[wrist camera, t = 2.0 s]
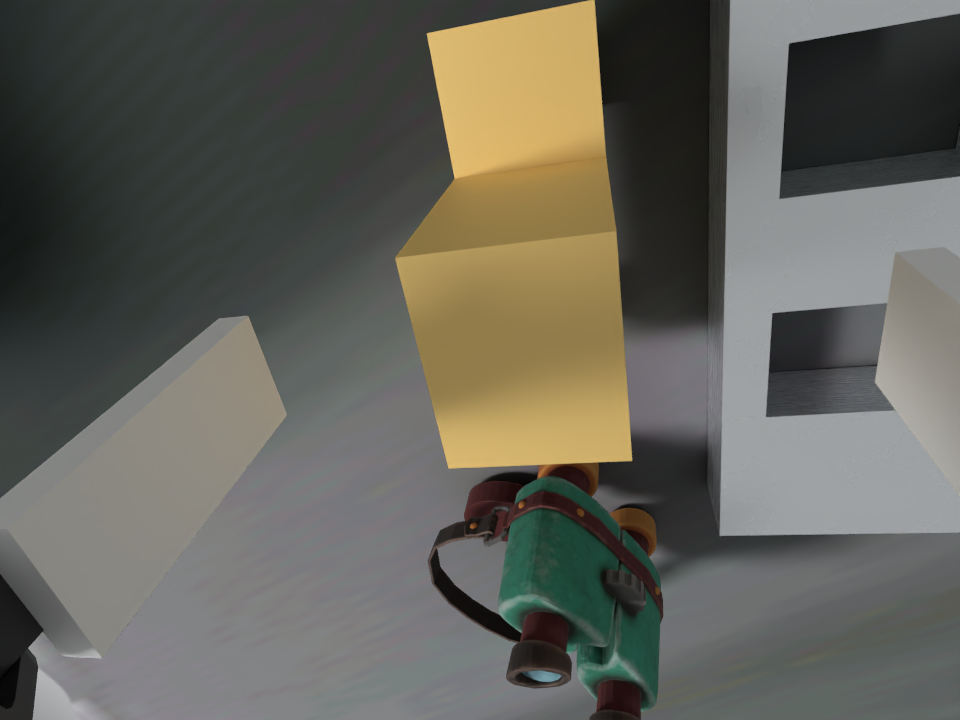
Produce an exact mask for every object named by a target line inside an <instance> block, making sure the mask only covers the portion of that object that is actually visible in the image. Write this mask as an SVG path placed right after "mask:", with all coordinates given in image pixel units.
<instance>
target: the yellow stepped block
mask: <svg viewBox="0 0 960 720" xmlns="http://www.w3.org/2000/svg"><path fill="white" fill-rule="evenodd" d="M427 37H428V42H429V47H430V53H431V58H432V63H433V68H434V73H435V79H436V84H437V89H438V94H439V99H440V105H441V110H442V115H443V120H444V125H445V131H446V136H447V141H448V146H449V151H450V157H451V162H452V167H453V172H454V177H455V179H454V181H453V182H452V183H451V185H450V186H449V187H448V188H447V190H446V191H445V192H444V194H443V195H442V196H441V198H440V199H439V200H438V202H437V203H436V204H435V206H434V207H433V208H432V210H431V211H430V212H429V214H428V215H427V216H426V218H425V219H424V220H423V222H422V223H421V224H420V226H419V227H418V228H417V230H416V231H415V232H414V234H413V235H412V236H411V238H410V239H409V240H408V242H407V243H406V244H405V245H404V247H403V248H402V249H401V251H400V252H399V253H398V255H397V256H396V257H395V259H396V263H397V267H398V271H399V275H400V279H401V283H402V287H403V291H404V295H405V299H406V303H407V307H408V310H409V314H410V318H411V322H412V326H413V330H414V334H415V338H416V342H417V346H418V350H419V354H420V358H421V362H422V365H423V369H424V373H425V377H426V381H427V385H428V389H429V393H430V397H431V401H432V405H433V409H434V413H435V416H436V420H437V424H438V428H439V432H440V436H441V440H442V444H443V448H444V452H445V456H446V460H447V464H448V468H473V467H497V466H522V465H546V464H570V463H595V462H619V461H632V449H631V435H630V421H629V406H628V392H627V377H626V363H625V348H624V334H623V319H622V305H621V290H620V276H619V262H618V247H617V233H616V225H615V218H614V210H613V203H612V196H611V189H610V182H609V175H608V167H607V160H606V150H605V136H604V122H603V109H602V95H601V81H600V68H599V54H598V41H597V27H596V13H595V0H589V1H584V2H579V3H574V4H569V5H565V6H560V7H555V8H550V9H545V10H540V11H535V12H530V13H525V14H520V15H515V16H510V17H505V18H500V19H496V20H491V21H486V22H481V23H476V24H471V25H466V26H461V27H456V28H451V29H446V30H441V31H436V32H431V33H427Z"/></svg>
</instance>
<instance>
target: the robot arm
mask: <svg viewBox="0 0 960 720" xmlns="http://www.w3.org/2000/svg"><path fill="white" fill-rule="evenodd" d="M875 383H876V385H877V386H878V387H879V389H880V390H881V391H882V393H883V394H884V395H885V397H886V398H887V399H888V401H889V402H890V403H891V405H892V406H893V407H894V409H895V410H896V411H897V413H898V414H899V415H900V417H901V418H902V419H903V421H904V422H905V423H906V425H907V426H908V427H909V429H910V430H911V431H912V433H913V434H914V435H915V437H916V438H917V439H918V441H919V442H920V443H921V445H922V446H923V448H924V449H925V450H926V452H927V453H928V454H929V456H930V457H931V458H932V460H933V461H934V462H935V464H936V465H937V466H938V468H939V469H940V470H941V472H942V473H943V474H944V476H945V477H946V478H947V480H948V481H949V482H950V484H951V485H952V486H953V488H954V489H955V490H956V492H957V493H958V494H959V496H960V257H958V256H957V255H955V254H954V253H952V252H951V251H949V250H948V249H946V248H945V247H940V248H930V249H920V250H909V251H899V252H895V258H894V264H893V271H892V277H891V283H890V290H889V296H888V302H887V309H886V315H885V321H884V328H883V334H882V340H881V347H880V353H879V359H878V366H877V372H876V378H875ZM286 416H287V414H286V411H285V409H284V406H283V404H282V401H281V398H280V396H279V393H278V391H277V388H276V386H275V383H274V381H273V378H272V375H271V373H270V370H269V368H268V365H267V363H266V360H265V358H264V355H263V353H262V350H261V347H260V345H259V342H258V340H257V337H256V335H255V332H254V330H253V327H252V324H251V322H250V319H249V317H248V316H241V317H230V318H220V319H218V320H217V321H215V322H214V323H213V324H212V325H210V326H209V327H208V328H207V329H206V330H204V331H203V332H202V333H201V334H200V335H198V336H197V337H196V338H195V339H193V340H192V341H191V342H190V343H189V344H187V345H186V346H185V347H184V348H183V349H181V350H180V351H179V352H178V353H176V354H175V355H174V356H173V357H172V358H170V359H169V360H168V361H167V362H166V363H164V364H163V365H162V366H161V367H159V368H158V369H157V370H156V371H155V372H153V373H152V374H151V375H150V376H149V377H147V378H146V379H145V380H144V381H142V382H141V383H140V384H139V385H138V386H136V387H135V388H134V389H133V390H132V391H130V392H129V393H128V394H127V395H125V396H124V397H123V398H122V399H121V400H119V401H118V402H117V403H116V404H114V405H113V406H112V407H111V408H110V409H108V410H107V411H106V412H105V413H104V414H102V415H101V416H100V417H99V418H97V419H96V420H95V421H94V422H93V423H91V424H90V425H89V426H88V427H87V428H85V429H84V430H83V431H82V432H80V433H79V434H78V435H77V436H76V437H74V438H73V439H72V440H71V441H70V442H68V443H67V444H66V445H65V446H63V447H62V448H61V449H60V450H59V451H57V452H56V453H55V454H54V455H53V456H51V457H50V458H49V459H48V460H46V461H45V462H44V463H43V464H42V465H40V466H39V467H38V468H37V469H36V470H34V471H33V472H32V473H31V474H29V475H28V476H27V477H26V478H25V479H23V480H22V481H21V482H20V483H18V484H17V485H16V486H15V487H14V488H12V489H11V490H10V491H9V492H8V493H6V494H5V495H4V496H3V497H1V498H0V720H32V718H33V709H34V700H35V690H36V681H37V672H38V665H37V661H36V658H35V656H34V655H33V654H32V653H31V651H30V650H29V649H28V647H29V646H30V645H31V644H32V643H33V642H34V641H35V639H36V638H37V637H38V636H39V635H40V634H41V633H42V632H44V634H45V635H46V636H47V637H48V639H49V640H50V641H51V642H52V644H53V645H54V646H55V648H56V649H57V650H58V651H59V653H60V654H61V655H62V656H65V657H86V658H103V657H104V655H105V654H106V653H107V651H108V650H109V649H110V647H111V646H112V645H113V643H114V642H115V641H116V640H117V638H118V637H119V636H120V634H121V633H122V632H123V630H124V629H125V628H126V626H127V625H128V624H129V622H130V621H131V620H132V618H133V617H134V616H135V615H136V613H137V612H138V611H139V609H140V608H141V607H142V605H143V604H144V603H145V601H146V600H147V599H148V597H149V596H150V595H151V593H152V592H153V591H154V590H155V588H156V587H157V586H158V584H159V583H160V582H161V580H162V579H163V578H164V576H165V575H166V574H167V572H168V571H169V570H170V568H171V567H172V566H173V564H174V563H175V562H176V561H177V559H178V558H179V557H180V555H181V554H182V553H183V551H184V550H185V549H186V547H187V546H188V545H189V543H190V542H191V541H192V539H193V538H194V537H195V536H196V534H197V533H198V532H199V530H200V529H201V528H202V526H203V525H204V524H205V522H206V521H207V520H208V518H209V517H210V516H211V514H212V513H213V512H214V511H215V509H216V508H217V507H218V505H219V504H220V503H221V501H222V500H223V499H224V497H225V496H226V495H227V493H228V492H229V491H230V489H231V488H232V487H233V485H234V484H235V483H236V482H237V480H238V479H239V478H240V476H241V475H242V474H243V472H244V471H245V470H246V468H247V467H248V466H249V464H250V463H251V462H252V460H253V459H254V458H255V457H256V455H257V454H258V453H259V451H260V450H261V449H262V447H263V446H264V445H265V443H266V442H267V441H268V439H269V438H270V437H271V435H272V434H273V433H274V432H275V430H276V429H277V428H278V426H279V425H280V424H281V422H282V421H283V420H284V418H285V417H286Z"/></svg>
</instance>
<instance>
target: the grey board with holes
mask: <svg viewBox="0 0 960 720" xmlns="http://www.w3.org/2000/svg"><path fill="white" fill-rule="evenodd" d="M954 14H960V0H710V101H709V271H708V441H707V488H708V492H709V496H710V500H711V504H712V507H713V511H714V515H715V519H716V523H717V527H718V531H719V535H720V536H745V535H813V534H881V533H949V532H960V496H959V494H958V493H957V492H956V490H955V489H954V488H953V486H952V485H951V484H950V482H949V481H948V480H947V478H946V477H945V476H944V474H943V473H942V472H941V470H940V469H939V468H938V466H937V465H936V464H935V462H934V461H933V460H932V458H931V457H930V456H929V454H928V453H927V452H926V450H925V449H924V448H923V446H922V445H921V443H920V442H919V441H918V439H917V438H916V437H915V435H914V434H913V433H912V431H911V430H910V429H909V427H908V426H907V425H906V423H905V422H904V421H903V419H902V418H901V417H900V415H899V414H898V413H897V411H896V410H895V409H894V407H893V406H892V405H891V403H890V402H889V401H888V399H887V398H886V397H885V395H884V394H883V393H882V391H881V390H880V389H879V387H878V386H877V385H876V383H875V378H876V372H877V366H878V365H876V366H861V367H847V368H832V369H817V370H803V371H788V372H773V373H769V357H770V341H771V325H772V313H778V312H790V311H801V310H813V309H824V308H835V307H847V306H858V305H870V304H881V303H887V302H888V296H889V290H890V283H891V277H892V271H893V264H894V258H895V252H899V251H909V250H920V249H930V248H940V247H945V248H946V249H948V250H949V251H951V252H952V253H954V254H955V255H957V256H958V257H960V128H959V133H958V138H957V143H956V148H955V149H947V150H940V151H932V152H925V153H917V154H910V155H902V156H895V157H888V158H880V159H873V160H865V161H858V162H850V163H843V164H835V165H828V166H820V167H813V168H805V169H798V170H790V171H783V172H781V163H782V146H783V130H784V114H785V98H786V82H787V65H788V49H789V43H794V42H800V41H806V40H812V39H817V38H823V37H829V36H834V35H840V34H846V33H851V32H857V31H863V30H869V29H874V28H880V27H886V26H891V25H897V24H903V23H908V22H914V21H920V20H925V19H931V18H937V17H943V16H948V15H954Z"/></svg>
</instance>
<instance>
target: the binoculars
mask: <svg viewBox="0 0 960 720" xmlns="http://www.w3.org/2000/svg"><path fill="white" fill-rule="evenodd" d="M598 477H599V464H598V462H595V463H570V464H546V465H539V471H538V478H537V479H536V480H534V481H532V482H531V483H529V484H527V485H525V486H523V485H520V484H517V483H512V482H506V481H489V482H483V483H480V484H478V485H476V486H474V487H473V488H472V489H471V491H470V493H469V497H468V501H467V505H466V509H465V513H464V518H465V521H463V522H457V523H455V524H452V525H450V526H448V527H446V528H444V529H442V530H440V532H439V534H438V536H437V538H436V541H435V543H434V545H433V548H432V551H431V554H430V556H429V559H428V564H429V569H430V575H431V580H432V584H433V585H434V587H435V588H436V589H437V590H438V591H439V593H440V594H441V595H442V596H443V598H444V599H445V600H446V601H447V602H448V604H450V605H451V606H452V607H454V608H455V609H456V610H458V611H459V612H460V613H461V614H463V615H464V616H465V617H467V618H468V619H470V620H471V621H473V622H474V623H476V624H478V625H479V626H481V627H482V628H484V629H486V630H488V631H490V632H492V633H494V634H496V635H498V636H500V637H502V638H504V639H506V640H508V641H512V642H515V643H517V644H516V645H515V646H514V647H513V649H512V652H511V656H510V661H509V666H508V670H507V675H506V679H507V680H508V681H509V682H510V683H512V684H514V685H518V686H524V687H529V688H548V687H557V686H561V685H563V684H566V683H568V682H569V681H570V680H571V669H572V662H571V659H570V657H569V655H568V654H570V653H572V652H574V651H575V650H576V649H577V675H578V678H579V680H580V681H581V683H582V685H583V686H584V687H585V688H586V689H587V690H588V692H589V693H590V694H591V695H592V696H593V697H594V699H595V700H596V701H597V710H596V713H594V714H592V715H591V716H590V719H589V720H641V712H642V711H647V710H650V709H652V708H653V707H654V706H655V704H656V700H657V693H658V669H659V642H660V623H661V620H662V618H663V598H662V593H661V583H660V578H659V575H658V572H657V570H656V568H655V566H654V565H653V563H652V561H651V560H650V558H649V556H651V555H652V553H653V552H654V551H655V548H656V544H657V540H656V525H655V521H654V520H653V518H652V517H651V516H650V515H649V514H648V513H646V512H645V511H643V510H640V509H636V508H623V509H618V510H616V511H613V512H612V513H610V514H609V513H608V512H607V511H606V510H605V509H604V508H603V507H602V506H601V505H600V504H599V503H598V502H597V501H596V500H594V499H593V498H592V496H593V495H594V493H595V492H596V490H597V487H598ZM470 538H483V539H484V540H483V543H484V545H485V546H488V547H489V546H491V545H493V544H495V543H497V542H499V541H508V542H507V548H506V553H505V560H504V567H503V573H502V580H501V586H500V593H499V604H498V610H499V614H500V615H501V616H500V615H498V614H496V613H494V612H492V611H490V610H489V609H487V608H486V607H484V606H482V605H481V604H479V603H478V602H476V601H475V600H473V599H472V598H470V597H469V596H468V595H467V594H465V593H464V592H463V591H462V590H460V589H459V588H458V587H456V586H455V585H454V583H453V582H452V581H451V580H450V578H449V577H448V576H447V575H446V573H445V572H444V571H443V570H442V568H441V567H440V562H439V557H438V551H437V548H438V547H441V546H443V545H445V544H447V543H450V542H452V541H458V540H464V539H470ZM489 539H491V540H489Z"/></svg>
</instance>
